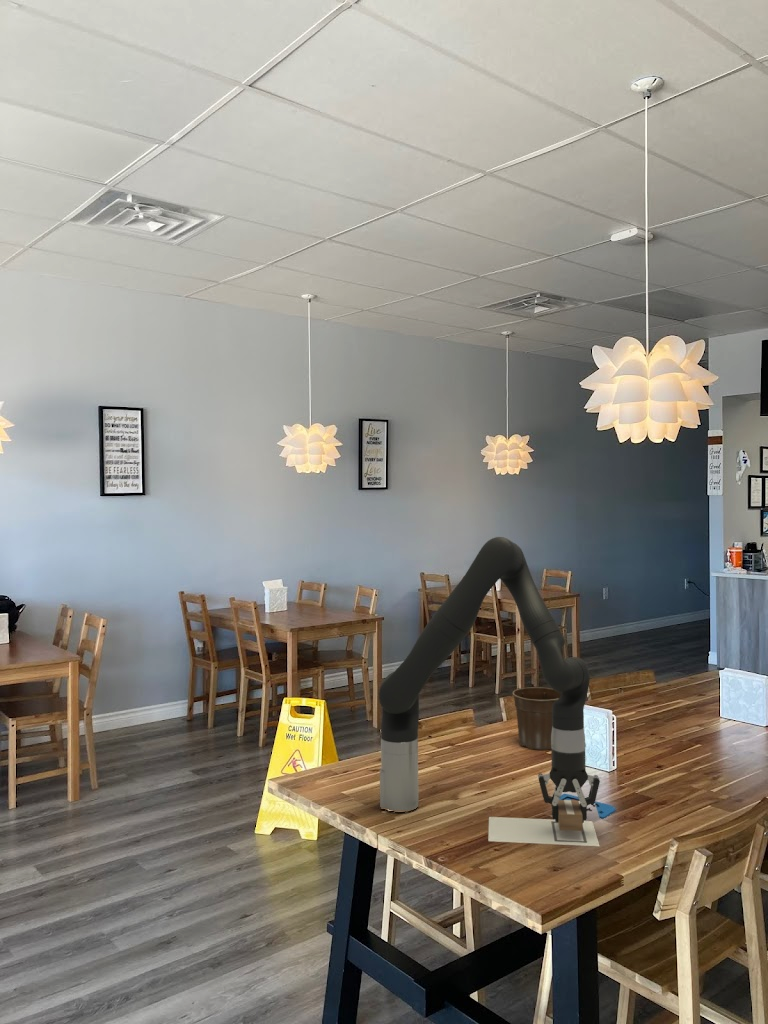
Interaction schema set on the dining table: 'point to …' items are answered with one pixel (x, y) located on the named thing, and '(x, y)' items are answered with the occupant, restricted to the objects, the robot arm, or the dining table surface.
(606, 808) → the handheld gaming device
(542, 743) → the plant pot
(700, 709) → the dining table surface
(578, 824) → the card box
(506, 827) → the mat
